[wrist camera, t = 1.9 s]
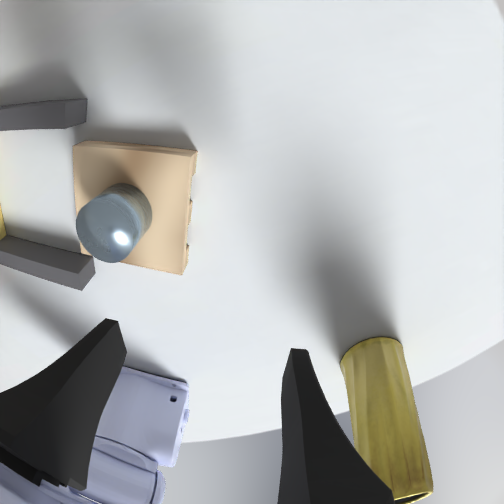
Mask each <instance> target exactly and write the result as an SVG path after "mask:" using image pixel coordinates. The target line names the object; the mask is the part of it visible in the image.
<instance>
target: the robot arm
mask: <svg viewBox="0 0 504 504" xmlns="http://www.w3.org/2000/svg"><path fill="white" fill-rule="evenodd" d="M126 353H127V351H126V347H125V344H124V341H123V337H122V334H121V330H120V327H119V323H118V321H115V320H111V319H107V318H106V319H104V320H103V321H102V322H101V323H100V324H98V325H97V326H96V327H95V328H94V329H93V330H92V331H91V332H89V333H88V334H87V335H86V336H85V337H84V338H83V339H82V340H80V341H79V342H78V343H77V344H76V345H75V346H73V347H72V348H71V349H70V350H69V351H68V352H66V353H65V354H64V355H63V356H61V357H60V358H59V359H58V360H56V361H55V362H54V363H52V364H51V365H50V366H48V367H47V368H45V369H44V370H42V371H41V372H39V373H38V374H36V375H35V376H33V377H31V378H29V379H28V380H26V381H24V382H22V383H21V384H19V385H17V386H15V387H13V388H10V389H8V390H6V391H4V392H1V393H0V504H98V503H95V502H93V501H91V500H89V499H92V500H94V501H97V502H99V503H102V504H162V501H163V498H164V493H165V484H166V483H165V478H164V476H163V475H162V472H161V471H158V470H157V467H158V465H162V466H167V467H174V466H175V464H176V460H177V457H178V453H179V449H180V445H181V441H182V437H183V432H184V428H185V424H187V421H188V417H189V409H188V388H189V386H188V384H186V383H184V382H179V381H175V380H171V379H167V378H163V377H159V376H155V375H151V374H148V373H144V372H141V371H137V370H134V369H130V368H127V367H124V366H123V363H124V360H125V357H126ZM281 414H282V440H283V454H282V467H281V478H280V487H279V496H278V504H395V501H394V497H393V493H392V490H391V489H390V488H389V487H388V486H387V485H386V484H385V483H384V482H383V481H382V480H381V479H380V478H379V477H378V476H377V475H376V474H375V473H374V472H373V470H372V469H371V468H370V467H369V466H368V465H367V464H366V462H365V461H364V460H363V458H362V457H361V456H360V455H359V453H358V452H357V451H356V449H355V448H354V447H353V445H352V444H351V443H350V441H349V439H348V438H347V436H346V435H345V433H344V432H343V430H342V429H341V427H340V425H339V423H338V422H337V420H336V418H335V416H334V414H333V412H332V410H331V408H330V406H329V404H328V402H327V400H326V398H325V396H324V393H323V391H322V389H321V387H320V384H319V382H318V379H317V377H316V374H315V371H314V368H313V366H312V363H311V359H310V356H309V352H308V351H307V350H306V349H294V348H291V350H290V354H289V357H288V361H287V364H286V368H285V371H284V374H283V379H282V392H281ZM78 493H79V494H81V495H83V496H85V497H87V498H89V499H87V498H84V497H82V496H81V495H79V494H78Z"/></svg>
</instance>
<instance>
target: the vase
mask: <svg viewBox="0 0 504 504" xmlns="http://www.w3.org/2000/svg"><path fill="white" fill-rule="evenodd" d="M340 368H341V371H342V374H343V376H344V380H345V384H346V389H347V395H348V403H349V409H350V416H351V422H352V430H353V438H354V446H355V449H356V451H357V452H358V453H359V455H360V456H361V457H362V458H363V460H364V461H365V462H366V464H367V465H368V466H369V467H370V468H371V469H372V470H373V472H374V473H375V474H376V475H377V476H378V477H379V478H380V479H381V480H382V481H383V482H384V483H385V484H386V485H387V486H388V487H389V488H390V489H391V490H392V493H393V497H394V501H395V504H410V503H413V502H415V501H418V500H421V499H423V498H425V497H427V496H429V495H430V494H432V493H433V480H432V474H431V469H430V464H429V459H428V455H427V450H426V445H425V441H424V436H423V433H422V429H421V425H420V421H419V416H418V412H417V408H416V405H415V400H414V396H413V391H412V386H411V381H410V377H409V373H408V369H407V365H406V362H405V357H404V352H403V347H402V345H401V344H400V343H399V342H398V341H397V340H394V339H392V338H387V337H377V338H371V339H367V340H365V341H362V342H360V343H358V344H356V345H355V346H353V347H352V348H350V349H349V350H348V351H347V352H346V353H345V355H344V356H343V358H342V360H341V363H340Z"/></svg>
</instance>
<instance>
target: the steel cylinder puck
mask: <svg viewBox="0 0 504 504" xmlns="http://www.w3.org/2000/svg"><path fill="white" fill-rule="evenodd" d="M151 223H152V208H151V205H150V203H149V201H148V199H147V197H146V196H145V194H144V193H143V192H142V191H141V190H139V189H138V188H137V187H135V186H133V185H130V184H127V183H117V184H114V185H111V186H110V187H108V188H107V189H106V190H104V191H103V192H101V193H100V194H99V195H97V196H96V197H95V198H93V199H92V200H91V201H89V202H88V203H87V204H86V205H84V206H83V207H82V208H81V209H80V211H79V213H78V215H77V218H76V230H77V234H78V237H79V240H80V242H81V243H82V245H83V246H84V248H85V249H86V250H87V251H88V252H89V253H90V254H91V255H92V256H94V257H95V258H97V259H99V260H101V261H104V262H108V263H116V262H120V261H122V260H124V259H125V258H126V257H127V256H128V255H129V254H130V252H131V251H132V250H133V248H134V247H135V246H136V244H137V243H138V242H139V241H140V239H141V238H142V237H143V236H144V234H145V233H146V232H147V231H148V229H149V228H150V226H151Z"/></svg>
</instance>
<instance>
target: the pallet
mask: <svg viewBox="0 0 504 504" xmlns="http://www.w3.org/2000/svg"><path fill="white" fill-rule="evenodd" d="M197 153H198V151H194V150H187V149H179V148H171V147H162V146H152V145H142V144H131V143H119V142H104V141H83V142H81V143H79V144H76V145H74V146H73V174H74V191H75V203H76V214H77V215H78V213H79V211H80V209H81V208H82V207H83V206H84V205H86V204H87V203H88V202H89V201H91V200H92V199H93V198H95V197H96V196H97V195H99V194H100V193H101V192H103V191H104V190H106V189H107V188H108V187H110V186H111V185H114V184H117V183H127V184H130V185H133V186H135V187H137V188H138V189H139V190H141V191H142V192H143V193H144V194H145V196H146V197H147V199H148V201H149V203H150V205H151V208H152V223H151V226H150V228H149V229H148V231H147V232H146V233H145V234H144V236H143V237H142V238H141V239H140V241H139V242H138V243H137V244H136V246H135V247H134V248H133V250H132V251H131V252H130V254H129V255H128V256H127V257H126V258H125V259H124V260H122V261H120V262H121V263H126V264H131V265H135V266H140V267H144V268H149V269H154V270H158V271H163V272H168V273H173V274H178V275H182V274H183V272H184V270H185V268H186V266H187V263H188V252H189V246H187V245H186V244H187V229H188V225H189V223H190V221H191V212H192V201H190V192H191V181H192V176H193V175H194V174H195V170H196V161H197ZM80 247H81V253H82V254H87V255H91V254H90V253H89V252H88V251H87V250H86V249H85V248H84V246H83V245H82V243H81V242H80ZM91 256H92V255H91Z"/></svg>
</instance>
